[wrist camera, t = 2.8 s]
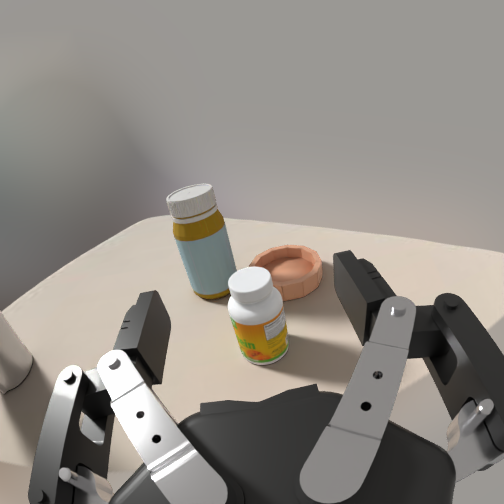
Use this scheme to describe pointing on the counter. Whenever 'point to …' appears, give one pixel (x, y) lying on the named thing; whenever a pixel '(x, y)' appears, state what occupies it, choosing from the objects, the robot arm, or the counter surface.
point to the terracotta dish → (291, 269)
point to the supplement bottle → (257, 316)
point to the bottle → (202, 240)
